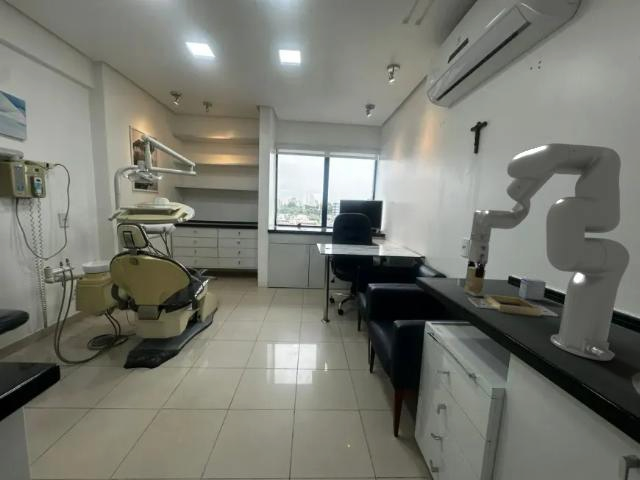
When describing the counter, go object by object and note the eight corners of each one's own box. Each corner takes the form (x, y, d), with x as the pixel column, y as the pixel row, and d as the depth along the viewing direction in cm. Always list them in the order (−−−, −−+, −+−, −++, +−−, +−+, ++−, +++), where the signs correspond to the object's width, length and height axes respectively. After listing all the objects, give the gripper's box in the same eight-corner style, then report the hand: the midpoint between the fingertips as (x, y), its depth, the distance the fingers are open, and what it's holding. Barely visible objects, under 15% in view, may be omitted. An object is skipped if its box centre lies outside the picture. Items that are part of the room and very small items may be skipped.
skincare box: (463, 292, 125) (466, 266, 123) (470, 291, 126) (473, 266, 125) (474, 296, 119) (478, 269, 117) (482, 296, 120) (486, 269, 118)
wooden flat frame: (561, 318, 98) (562, 312, 97) (479, 309, 103) (479, 302, 102) (538, 305, 111) (539, 299, 111) (466, 297, 116) (467, 292, 116)
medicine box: (536, 297, 123) (539, 279, 122) (543, 300, 119) (546, 281, 118) (518, 295, 124) (521, 277, 123) (524, 299, 120) (527, 280, 119)
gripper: (498, 241, 110) (491, 280, 113) (481, 236, 127) (476, 271, 129) (478, 239, 111) (472, 278, 114) (464, 235, 128) (459, 269, 131)
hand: (474, 274), depth 122 cm, fingers open, 9 cm apart
